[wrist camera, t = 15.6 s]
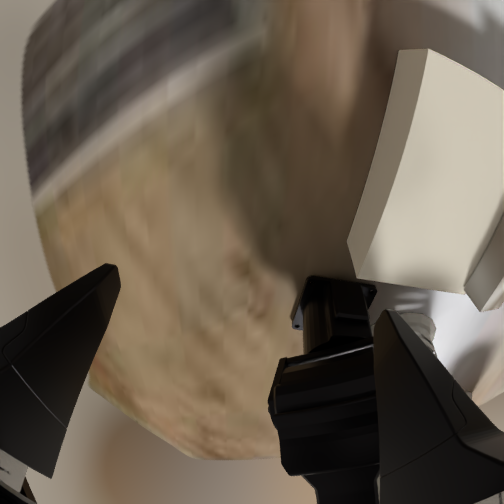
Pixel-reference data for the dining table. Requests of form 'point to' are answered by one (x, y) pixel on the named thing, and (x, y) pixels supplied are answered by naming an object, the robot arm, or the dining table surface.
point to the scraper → (489, 275)
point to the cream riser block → (432, 177)
